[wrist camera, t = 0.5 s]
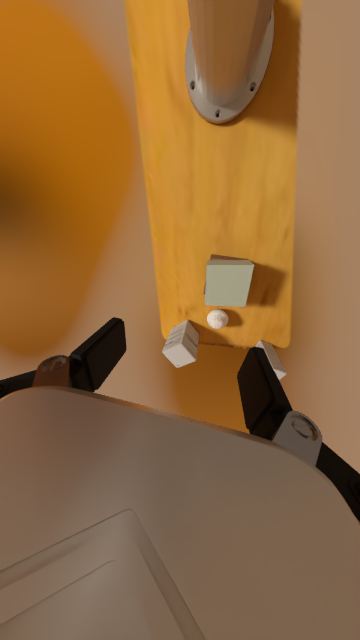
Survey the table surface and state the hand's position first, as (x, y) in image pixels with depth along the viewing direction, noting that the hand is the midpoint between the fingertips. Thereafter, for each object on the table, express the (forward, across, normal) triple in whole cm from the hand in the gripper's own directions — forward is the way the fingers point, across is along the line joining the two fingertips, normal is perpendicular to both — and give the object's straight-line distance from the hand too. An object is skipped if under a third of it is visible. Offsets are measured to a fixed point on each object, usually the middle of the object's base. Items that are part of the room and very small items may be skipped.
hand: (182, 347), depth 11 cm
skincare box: (+35, -24, +23) cm, 48 cm away
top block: (+29, -6, +2) cm, 30 cm away
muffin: (+34, -7, +14) cm, 38 cm away
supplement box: (+35, +2, +23) cm, 41 cm away
